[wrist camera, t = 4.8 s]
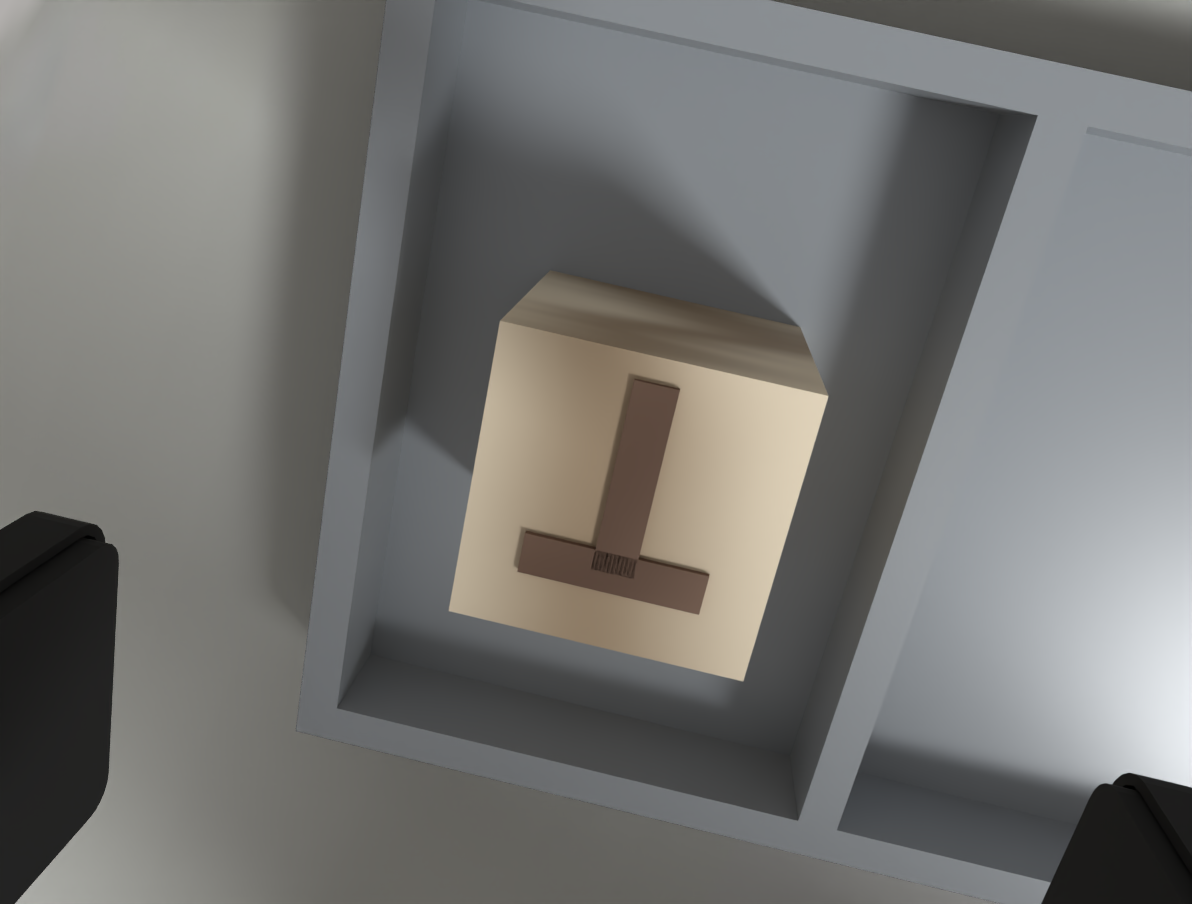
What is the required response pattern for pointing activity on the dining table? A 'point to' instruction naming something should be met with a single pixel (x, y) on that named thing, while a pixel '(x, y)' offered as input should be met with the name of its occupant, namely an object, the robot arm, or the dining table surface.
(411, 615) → the tray
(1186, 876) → the robot arm
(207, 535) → the dining table surface
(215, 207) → the dining table surface
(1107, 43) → the dining table surface
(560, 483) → the letter block
